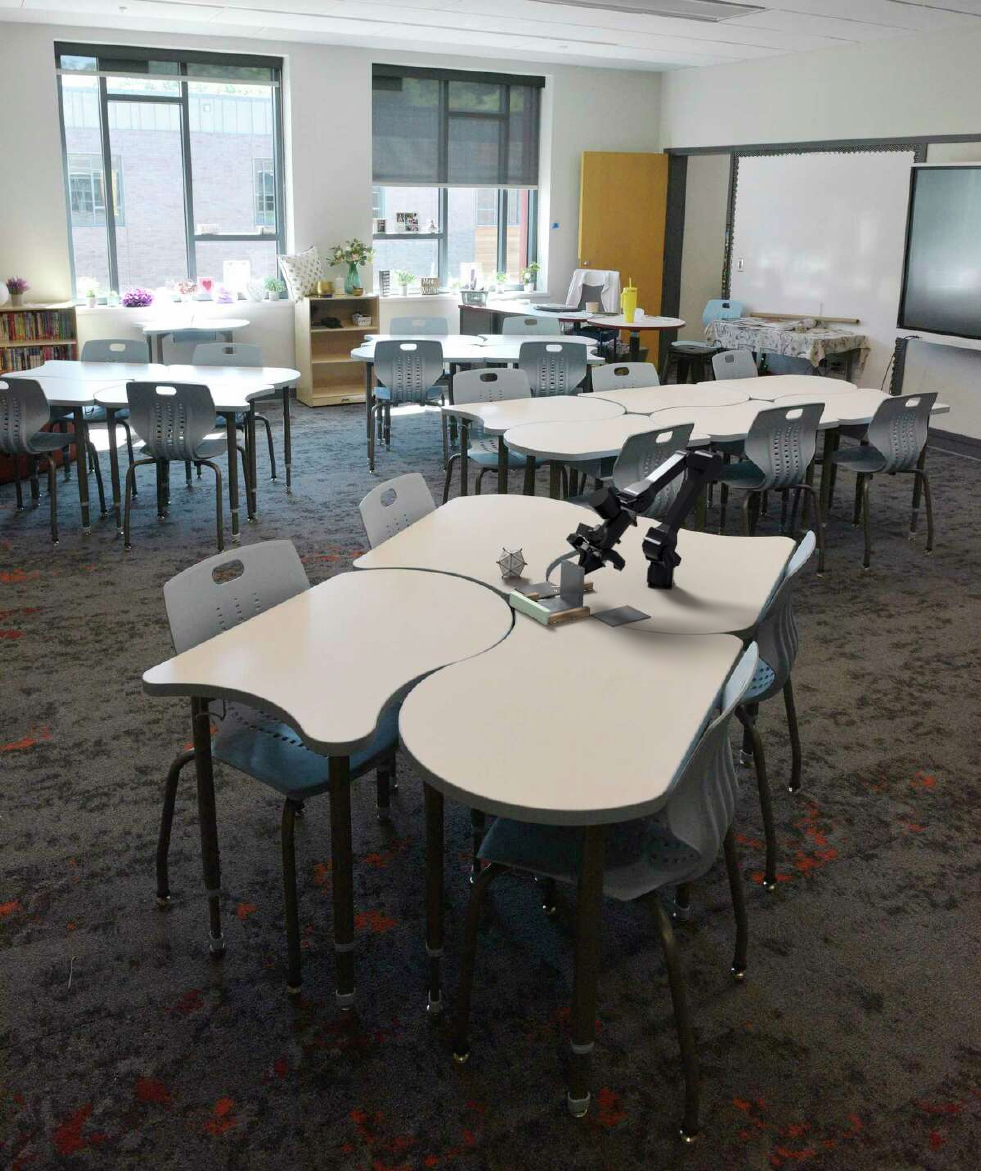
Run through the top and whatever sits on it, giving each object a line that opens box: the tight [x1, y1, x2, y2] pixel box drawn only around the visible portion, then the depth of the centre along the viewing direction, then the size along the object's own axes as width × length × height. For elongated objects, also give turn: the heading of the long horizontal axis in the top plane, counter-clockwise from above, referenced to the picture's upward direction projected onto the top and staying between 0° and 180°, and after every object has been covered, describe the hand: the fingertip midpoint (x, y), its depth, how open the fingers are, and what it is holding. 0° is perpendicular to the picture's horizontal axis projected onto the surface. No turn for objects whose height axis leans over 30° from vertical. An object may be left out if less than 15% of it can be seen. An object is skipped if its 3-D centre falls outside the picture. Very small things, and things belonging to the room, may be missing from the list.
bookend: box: [536, 559, 585, 614], centre depth 271 cm, size 12×8×11 cm, turn 122°
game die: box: [495, 547, 528, 580], centre depth 294 cm, size 9×8×10 cm
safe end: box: [509, 590, 551, 626], centre depth 268 cm, size 2×16×4 cm, turn 32°
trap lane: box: [514, 580, 652, 628], centre depth 275 cm, size 25×34×2 cm
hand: (575, 577), depth 274 cm, fingers closed, pressing on bookend
